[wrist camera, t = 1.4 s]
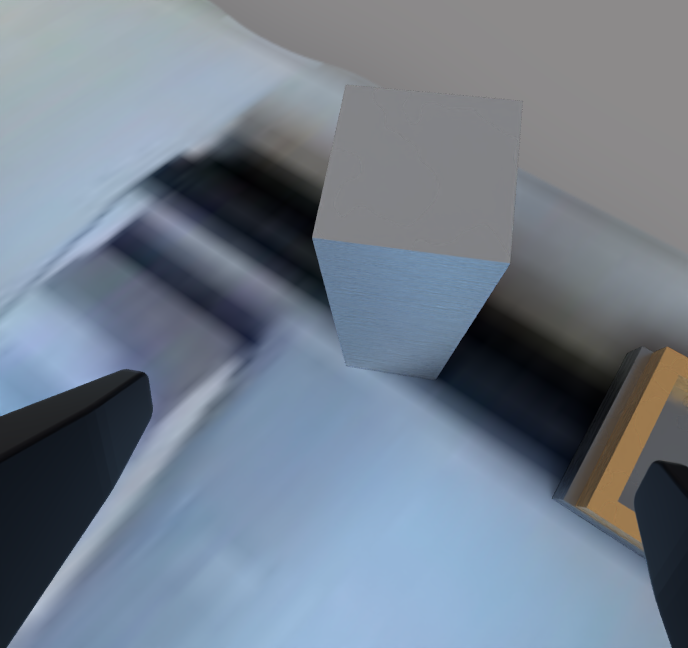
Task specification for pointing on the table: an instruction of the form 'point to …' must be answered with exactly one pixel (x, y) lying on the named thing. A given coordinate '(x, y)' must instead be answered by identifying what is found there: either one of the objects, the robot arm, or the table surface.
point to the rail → (629, 442)
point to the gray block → (415, 222)
